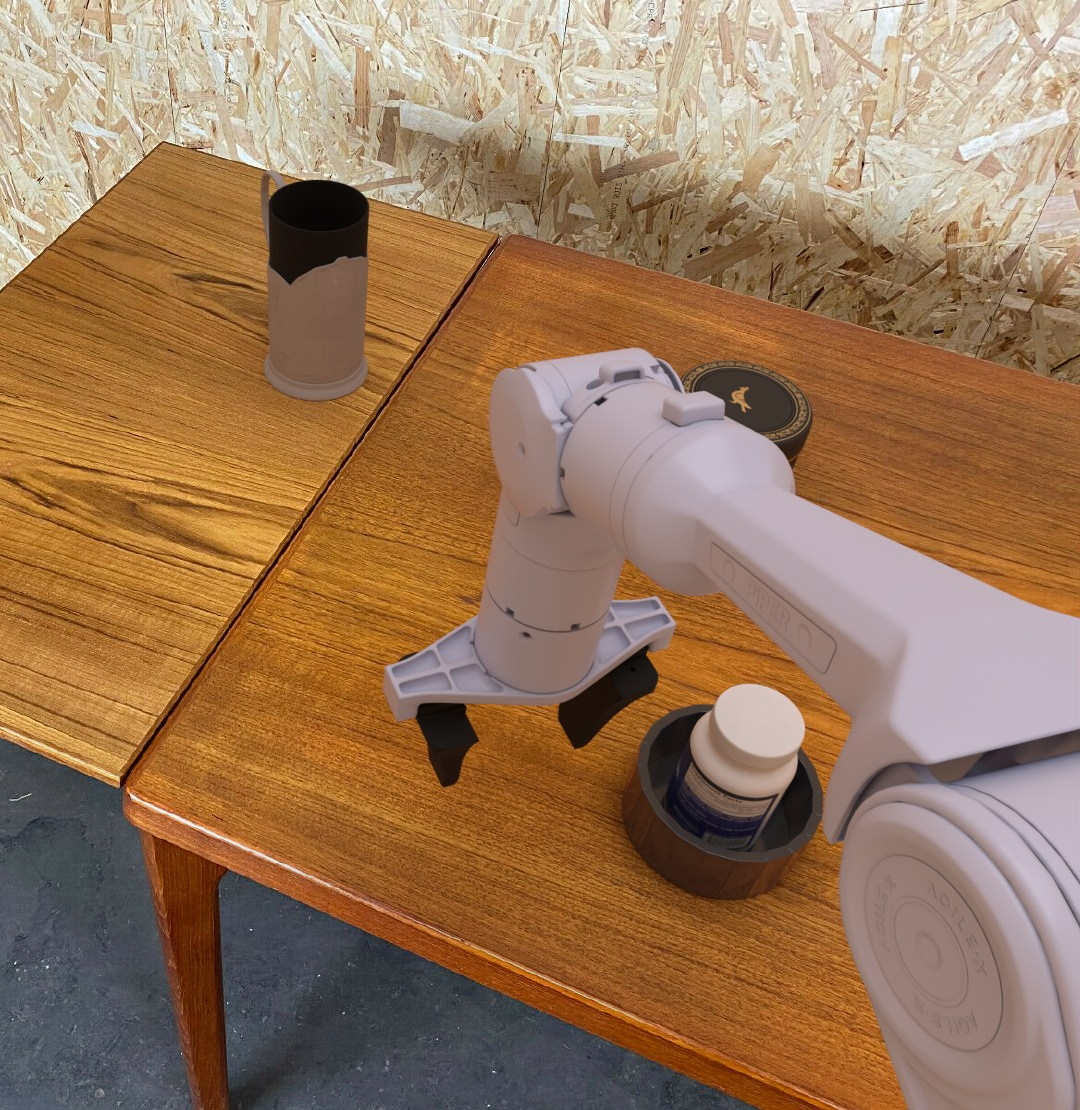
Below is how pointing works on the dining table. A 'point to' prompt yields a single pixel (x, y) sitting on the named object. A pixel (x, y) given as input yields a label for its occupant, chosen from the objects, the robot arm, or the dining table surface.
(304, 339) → the glass holder
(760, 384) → the jar
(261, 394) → the dining table surface
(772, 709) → the pill bottle
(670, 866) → the bowl
